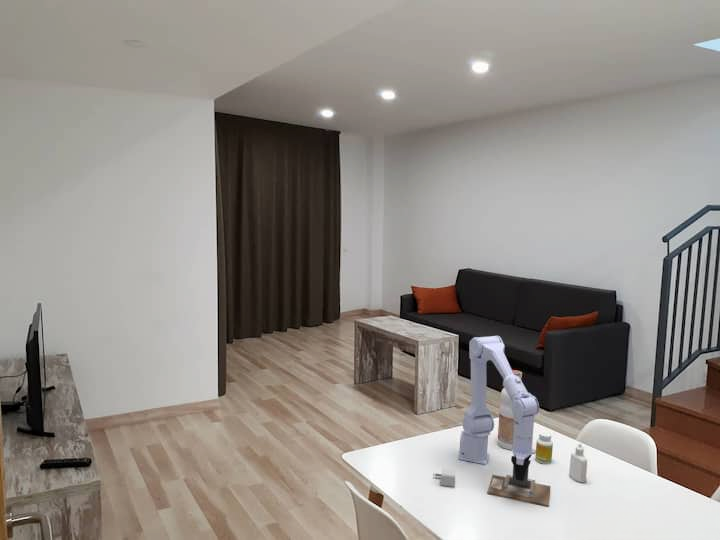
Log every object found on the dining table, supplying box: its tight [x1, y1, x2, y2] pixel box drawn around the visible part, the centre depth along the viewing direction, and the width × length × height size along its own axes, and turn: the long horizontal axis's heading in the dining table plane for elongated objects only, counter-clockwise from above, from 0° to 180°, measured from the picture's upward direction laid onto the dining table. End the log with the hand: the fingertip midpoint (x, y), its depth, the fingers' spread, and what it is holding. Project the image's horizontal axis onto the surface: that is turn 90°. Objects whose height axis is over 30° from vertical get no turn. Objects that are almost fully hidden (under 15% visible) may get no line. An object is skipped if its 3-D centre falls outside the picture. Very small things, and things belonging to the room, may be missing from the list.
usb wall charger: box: [432, 468, 457, 487], centre depth 174 cm, size 4×7×4 cm, turn 78°
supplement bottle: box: [535, 431, 554, 465], centre depth 192 cm, size 5×5×10 cm
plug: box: [512, 464, 530, 487], centre depth 171 cm, size 4×3×6 cm
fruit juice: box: [497, 369, 523, 451], centre depth 202 cm, size 9×9×28 cm
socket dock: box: [486, 474, 551, 508], centre depth 171 cm, size 18×12×3 cm, turn 69°
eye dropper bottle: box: [568, 443, 588, 484], centre depth 179 cm, size 4×6×12 cm
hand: (520, 476), depth 171 cm, fingers closed on plug, 3 cm apart
